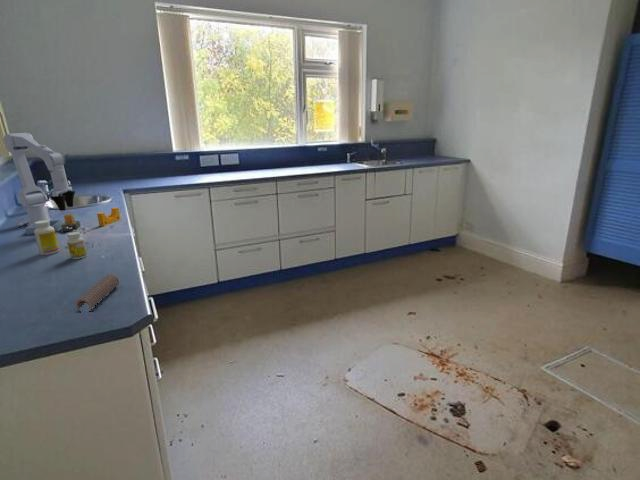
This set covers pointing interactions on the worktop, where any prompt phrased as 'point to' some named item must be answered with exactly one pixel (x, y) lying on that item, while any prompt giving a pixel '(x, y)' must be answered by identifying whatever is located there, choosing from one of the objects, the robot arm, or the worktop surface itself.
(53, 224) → the tray
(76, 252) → the supplement bottle
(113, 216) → the pipe clamp
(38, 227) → the supplement bottle
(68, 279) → the worktop surface
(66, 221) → the orange rectangular block
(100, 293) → the coil
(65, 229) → the block
